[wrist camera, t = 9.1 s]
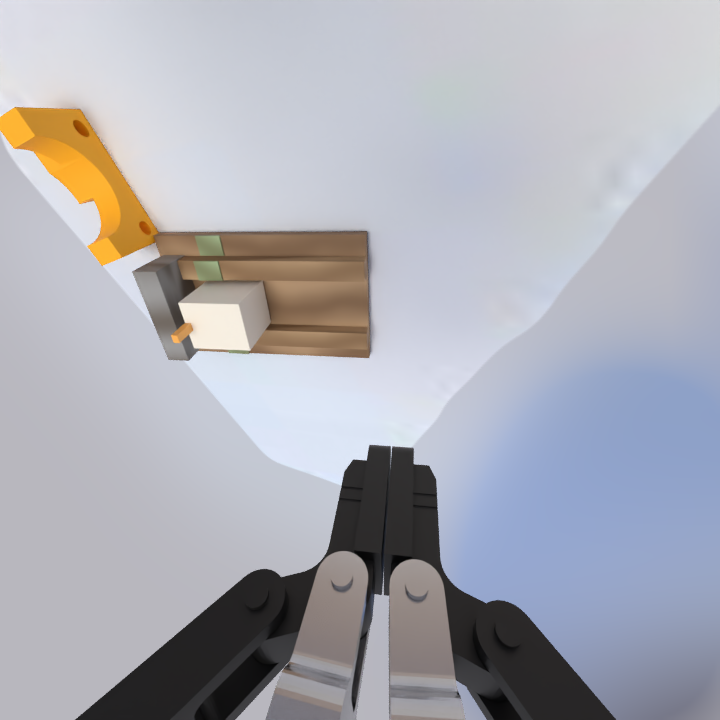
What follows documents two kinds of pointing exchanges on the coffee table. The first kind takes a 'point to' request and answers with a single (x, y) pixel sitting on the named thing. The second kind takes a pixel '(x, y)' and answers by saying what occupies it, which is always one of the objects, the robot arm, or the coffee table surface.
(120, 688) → the robot arm
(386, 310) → the coffee table surface
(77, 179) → the pipe clamp
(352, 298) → the gauge board
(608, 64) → the coffee table surface
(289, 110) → the coffee table surface
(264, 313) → the white cube with stick
